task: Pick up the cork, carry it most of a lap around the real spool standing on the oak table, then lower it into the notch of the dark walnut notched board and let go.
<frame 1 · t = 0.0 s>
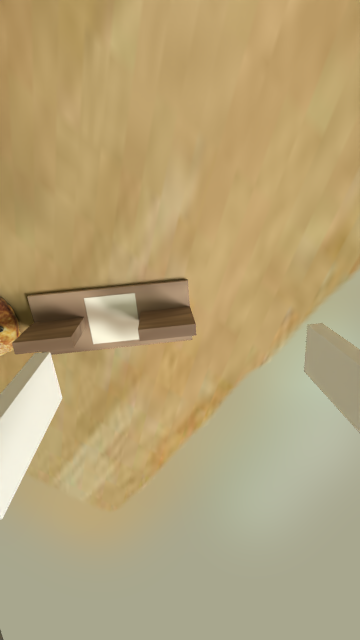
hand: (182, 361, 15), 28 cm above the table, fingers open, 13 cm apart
notched board: (114, 317, 44), on the table
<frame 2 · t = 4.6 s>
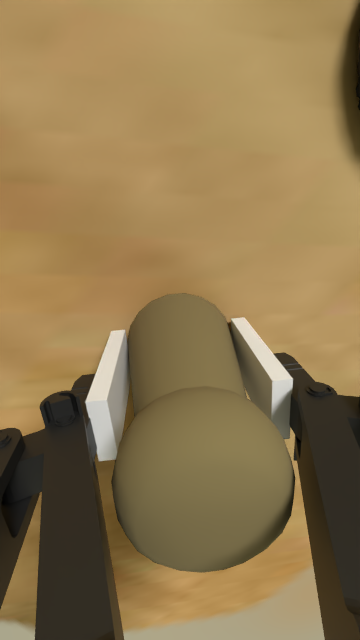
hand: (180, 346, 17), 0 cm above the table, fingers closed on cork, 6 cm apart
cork: (179, 341, 18), on the table, touching gripper
when the fingers open (3 cm above the table, at t = 13.4 s): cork drops 1 cm, resting on notched board.
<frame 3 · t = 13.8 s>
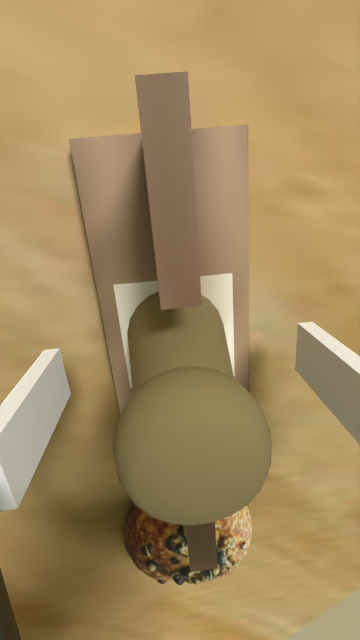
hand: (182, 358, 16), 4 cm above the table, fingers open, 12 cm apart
notched board: (177, 328, 20), on the table
bread roll: (189, 515, 27), on the table
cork: (175, 333, 19), point 1 cm above the table, touching notched board
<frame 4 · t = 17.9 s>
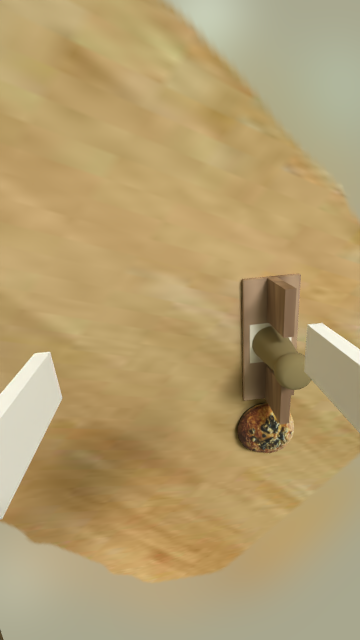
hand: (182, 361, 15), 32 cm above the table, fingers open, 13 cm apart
notched board: (268, 340, 51), on the table
bread roll: (264, 423, 58), on the table
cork: (269, 342, 50), point 1 cm above the table, touching notched board
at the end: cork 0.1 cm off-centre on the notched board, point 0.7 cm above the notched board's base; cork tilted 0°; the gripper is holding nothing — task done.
